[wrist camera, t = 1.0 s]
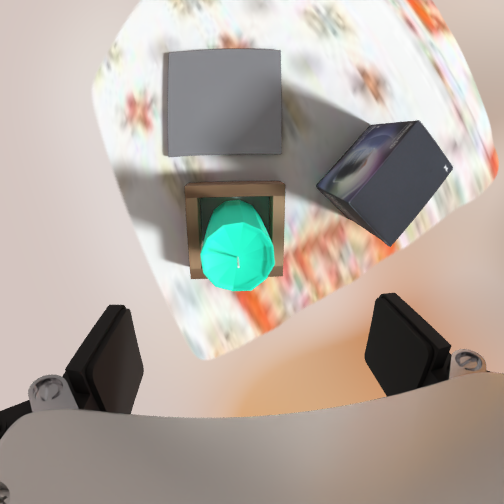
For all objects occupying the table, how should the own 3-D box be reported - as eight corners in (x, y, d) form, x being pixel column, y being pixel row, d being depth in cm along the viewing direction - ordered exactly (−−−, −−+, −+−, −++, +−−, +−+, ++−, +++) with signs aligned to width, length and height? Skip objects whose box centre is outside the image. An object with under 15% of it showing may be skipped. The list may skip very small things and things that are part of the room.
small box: (369, 120, 30) (419, 115, 21) (402, 159, 32) (456, 168, 22) (312, 185, 33) (347, 202, 23) (350, 221, 34) (392, 250, 25)
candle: (197, 230, 33) (182, 273, 22) (230, 188, 32) (231, 211, 21) (239, 260, 35) (245, 315, 24) (272, 221, 34) (294, 259, 22)
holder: (188, 183, 31) (184, 186, 29) (280, 180, 32) (285, 184, 29) (193, 268, 35) (190, 279, 32) (278, 265, 36) (282, 276, 33)
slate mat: (170, 54, 26) (169, 52, 26) (279, 51, 27) (280, 50, 27) (169, 156, 30) (168, 157, 30) (280, 154, 31) (281, 154, 31)
